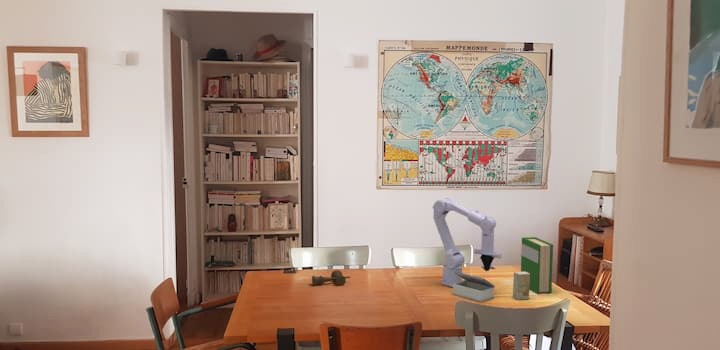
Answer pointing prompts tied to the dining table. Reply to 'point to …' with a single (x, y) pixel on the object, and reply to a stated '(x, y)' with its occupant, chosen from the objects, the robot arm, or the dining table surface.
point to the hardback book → (537, 263)
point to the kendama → (330, 278)
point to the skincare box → (521, 285)
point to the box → (473, 291)
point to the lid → (474, 279)
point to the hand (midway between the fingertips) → (486, 270)
